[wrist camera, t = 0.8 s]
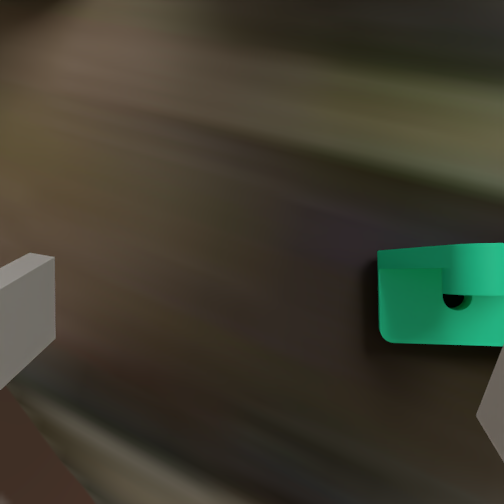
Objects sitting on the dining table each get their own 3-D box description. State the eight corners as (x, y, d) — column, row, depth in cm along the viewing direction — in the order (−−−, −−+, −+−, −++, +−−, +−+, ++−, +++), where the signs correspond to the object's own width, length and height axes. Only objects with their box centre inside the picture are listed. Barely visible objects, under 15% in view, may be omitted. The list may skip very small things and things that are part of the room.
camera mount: (378, 337, 37) (388, 361, 27) (376, 251, 38) (386, 245, 28) (529, 341, 34) (603, 371, 24) (526, 249, 35) (597, 241, 25)
